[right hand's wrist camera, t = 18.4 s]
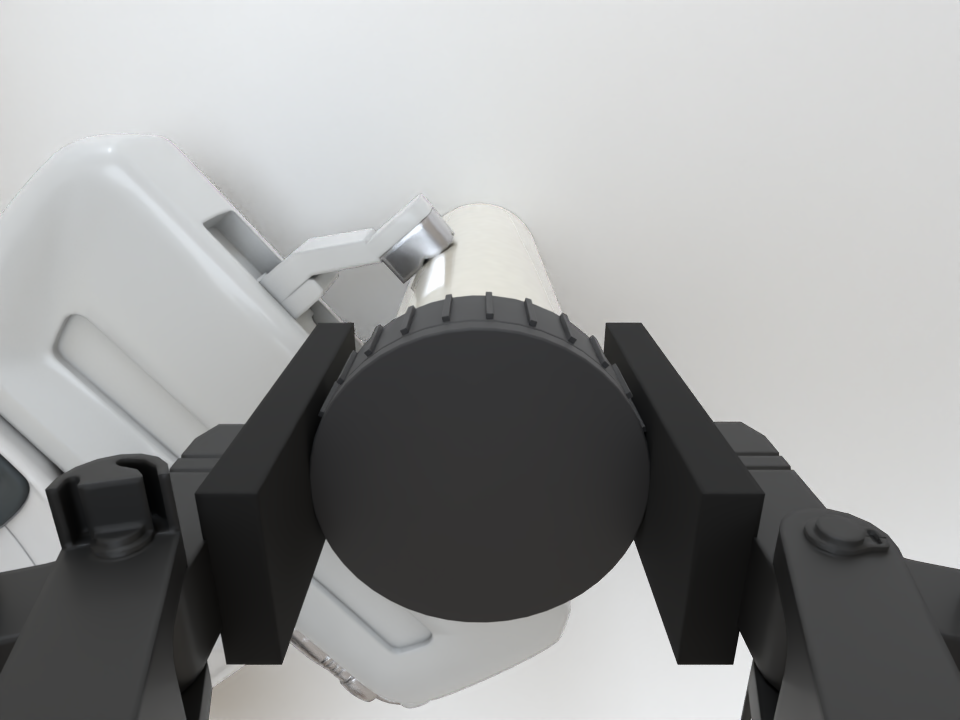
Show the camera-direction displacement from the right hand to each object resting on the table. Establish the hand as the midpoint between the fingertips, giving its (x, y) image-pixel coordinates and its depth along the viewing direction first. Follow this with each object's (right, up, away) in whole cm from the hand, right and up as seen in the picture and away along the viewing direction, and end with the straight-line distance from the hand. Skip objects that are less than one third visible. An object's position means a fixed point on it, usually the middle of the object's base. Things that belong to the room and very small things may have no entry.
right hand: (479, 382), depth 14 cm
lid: (0, -1, -4) cm, 4 cm away
